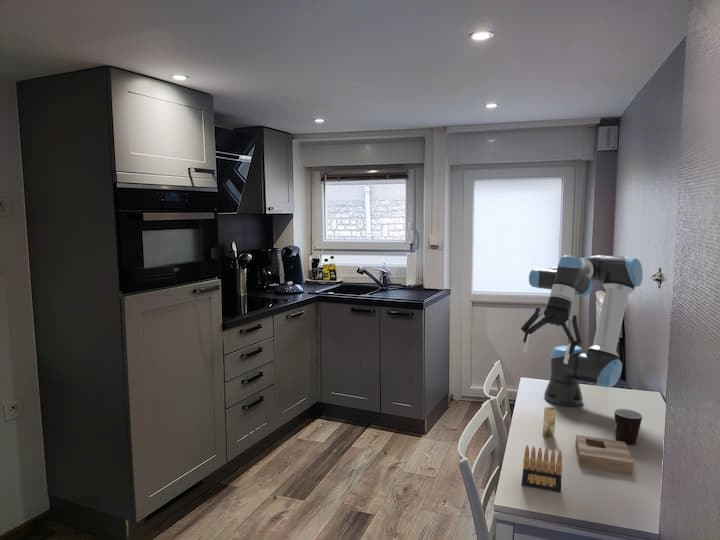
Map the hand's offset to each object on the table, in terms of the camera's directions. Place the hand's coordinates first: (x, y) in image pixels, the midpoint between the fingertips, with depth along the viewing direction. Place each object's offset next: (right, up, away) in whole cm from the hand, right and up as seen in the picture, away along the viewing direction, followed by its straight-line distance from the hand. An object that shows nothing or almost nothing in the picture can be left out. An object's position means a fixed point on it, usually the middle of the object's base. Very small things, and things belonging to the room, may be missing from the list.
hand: (544, 357), depth 174 cm
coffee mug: (+29, -30, +4) cm, 42 cm away
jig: (+15, -31, -9) cm, 36 cm away
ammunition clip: (-11, -33, -27) cm, 44 cm away
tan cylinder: (+4, -29, +8) cm, 30 cm away
